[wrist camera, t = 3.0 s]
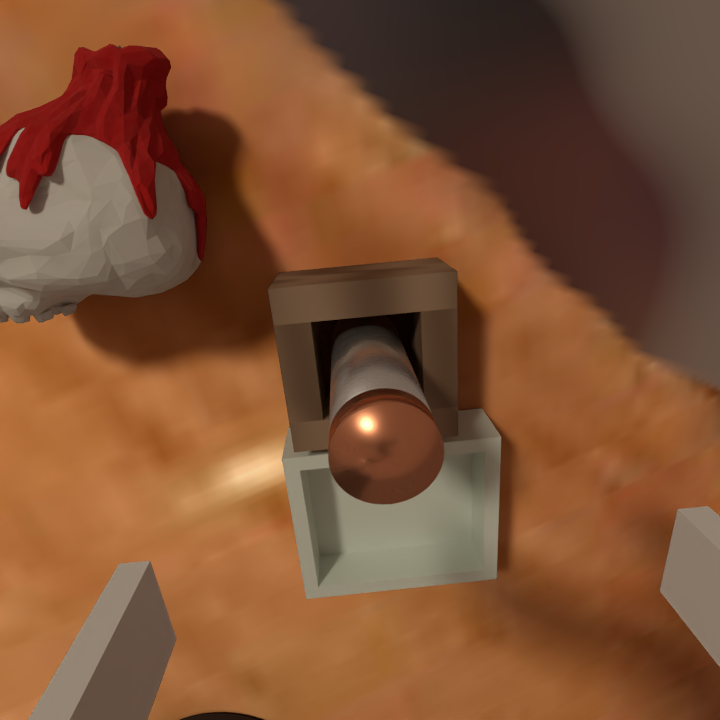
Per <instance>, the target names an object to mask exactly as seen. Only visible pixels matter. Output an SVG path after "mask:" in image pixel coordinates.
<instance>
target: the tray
mask: <svg viewBox="0 0 720 720" xmlns="http://www.w3.org/2000/svg"><path fill="white" fill-rule="evenodd" d="M442 439H443V443H444V460H443V465H442V467H441V470H440V472H439V474H438V476H437V477H436V479H435V480H434V482H433V483H432V484H431V485H430V486H429V487H428V488H427V489H426V490H424V491H423V492H422V493H420V494H419V495H417V496H415V497H413V498H411V499H409V500H406V501H403V502H400V503H395V504H384V505H382V504H372V503H367V502H364V501H361V500H358V499H356V498H354V497H352V496H351V495H349V494H348V493H346V492H345V491H344V490H343V489H342V488H341V487H340V486H339V485H338V484H337V482H336V481H335V479H334V478H333V476H332V474H331V471H330V468H329V463H328V449H324V450H314V451H304V452H294V449H293V442H292V436H291V430H290V427H288V432H287V437H286V442H285V446H284V451H283V456H282V462H283V468H284V474H285V479H286V485H287V491H288V496H289V502H290V508H291V514H292V519H293V525H294V531H295V537H296V542H297V548H298V554H299V560H300V565H301V571H302V577H303V583H304V588H305V594H306V599H310V598H320V597H329V596H339V595H348V594H358V593H367V592H377V591H387V590H396V589H406V588H415V587H425V586H434V585H444V584H453V583H463V582H472V581H482V580H491V579H497V554H498V523H499V493H500V462H501V436H500V434H499V433H498V431H497V430H496V428H495V427H494V425H493V424H492V422H491V421H490V419H489V418H488V416H487V415H486V413H485V412H484V410H483V409H482V408H480V409H470V410H459V411H458V436H454V437H444V438H442Z"/></svg>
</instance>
